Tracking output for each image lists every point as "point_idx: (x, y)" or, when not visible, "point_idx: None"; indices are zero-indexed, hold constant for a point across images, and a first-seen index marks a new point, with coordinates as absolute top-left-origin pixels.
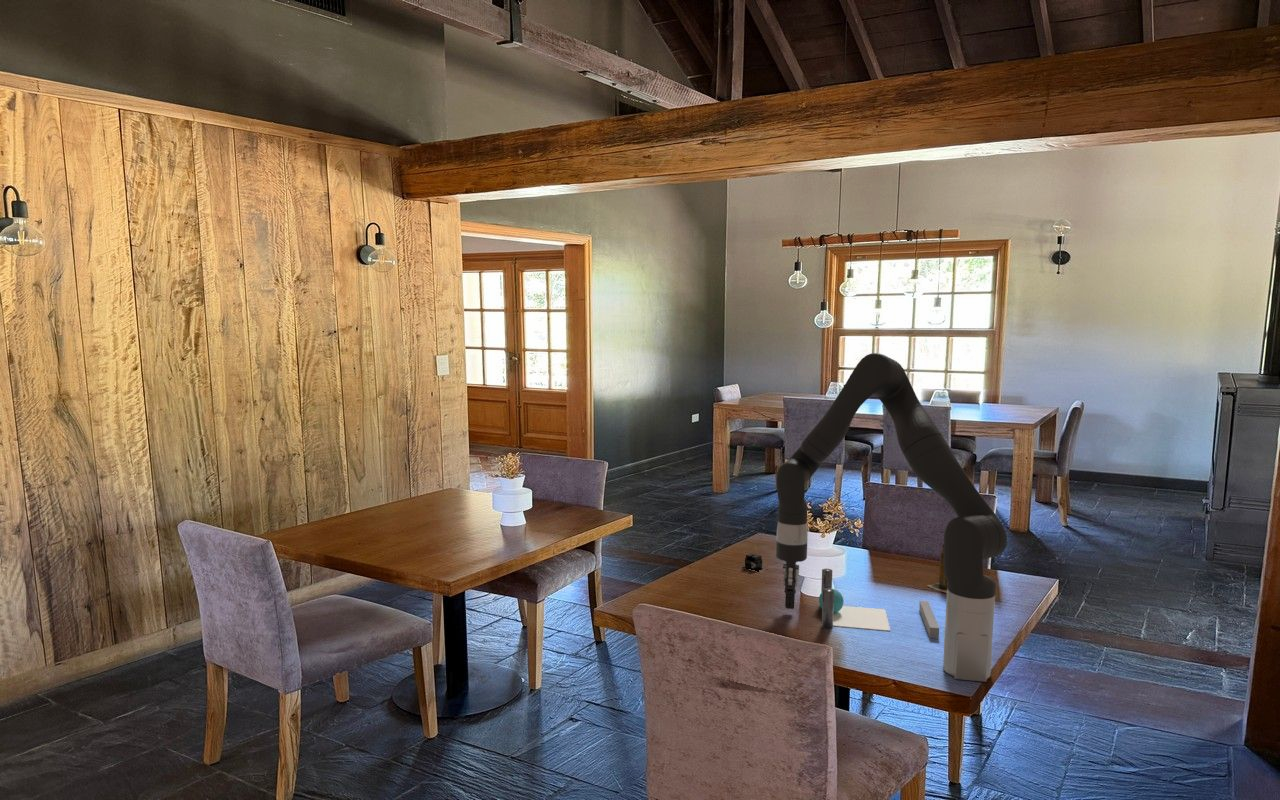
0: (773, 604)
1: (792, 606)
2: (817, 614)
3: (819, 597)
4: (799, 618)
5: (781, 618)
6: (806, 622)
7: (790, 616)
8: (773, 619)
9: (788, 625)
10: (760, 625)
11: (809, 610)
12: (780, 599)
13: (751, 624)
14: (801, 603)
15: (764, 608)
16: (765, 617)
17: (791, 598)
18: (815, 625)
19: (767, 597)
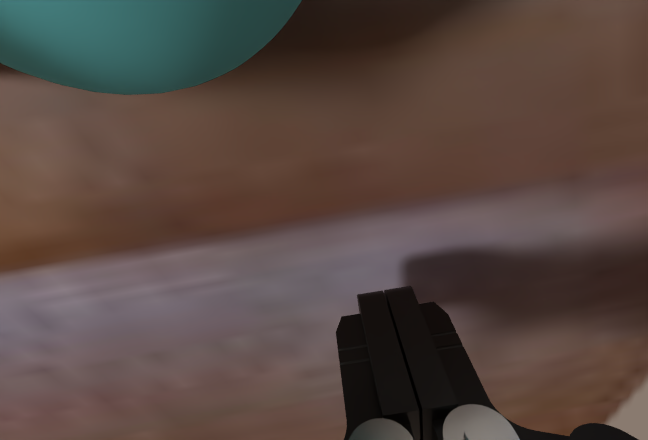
0: (238, 389)
1: (438, 308)
2: (304, 56)
3: (188, 84)
4: (463, 196)
5: (489, 303)
6: (550, 124)
7: (434, 262)
8: (517, 336)
9: (625, 239)
10: (625, 368)
11: (228, 153)
12: (111, 378)
13: (610, 402)
14: (89, 246)
15: (336, 408)
16: (490, 375)
17: (476, 385)
18: (625, 25)
19: (130, 436)
